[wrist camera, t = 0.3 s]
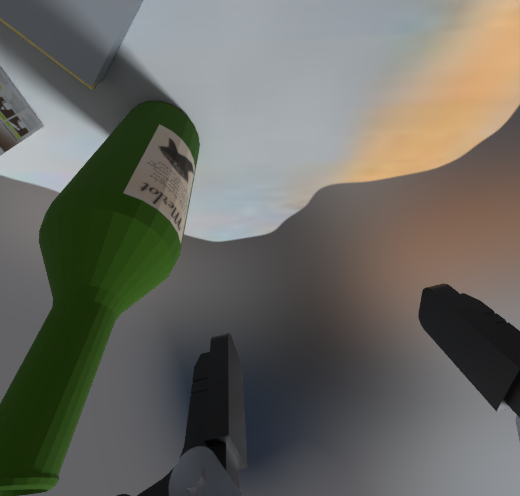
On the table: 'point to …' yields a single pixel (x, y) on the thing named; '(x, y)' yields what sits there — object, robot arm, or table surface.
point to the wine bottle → (96, 280)
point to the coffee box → (14, 115)
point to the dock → (73, 31)
